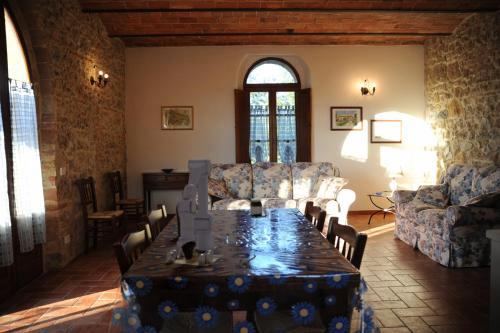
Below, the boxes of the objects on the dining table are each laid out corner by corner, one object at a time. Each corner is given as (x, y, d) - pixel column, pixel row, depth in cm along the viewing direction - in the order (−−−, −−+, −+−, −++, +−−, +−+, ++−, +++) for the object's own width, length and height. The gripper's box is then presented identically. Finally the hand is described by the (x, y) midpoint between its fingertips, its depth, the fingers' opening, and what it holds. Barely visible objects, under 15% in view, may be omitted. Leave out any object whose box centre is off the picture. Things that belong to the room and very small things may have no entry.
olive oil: (173, 235, 227) (172, 191, 225) (191, 233, 233) (189, 189, 231) (181, 239, 218) (180, 192, 216) (199, 236, 224) (197, 191, 222)
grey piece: (178, 255, 182) (177, 246, 182) (218, 258, 175) (218, 249, 175) (163, 262, 172) (163, 253, 171) (206, 266, 164) (205, 256, 164)
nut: (189, 258, 177) (189, 251, 177) (200, 258, 175) (199, 251, 175) (184, 260, 173) (184, 253, 173) (195, 261, 171) (195, 254, 171)
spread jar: (249, 214, 288) (248, 198, 287) (264, 213, 291) (263, 197, 291) (254, 217, 277) (253, 200, 276) (269, 216, 280) (269, 199, 279)
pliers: (254, 252, 185) (264, 265, 166) (254, 254, 185) (264, 267, 166) (233, 254, 183) (240, 267, 164) (233, 256, 183) (240, 269, 164)
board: (183, 254, 187) (183, 252, 187) (223, 257, 180) (223, 255, 180) (164, 264, 172) (164, 262, 172) (206, 268, 165) (206, 265, 165)
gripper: (187, 223, 178) (188, 254, 179) (169, 230, 165) (171, 263, 166) (201, 224, 176) (202, 255, 177) (184, 231, 162) (186, 265, 163)
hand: (188, 259), depth 171 cm, fingers closed
